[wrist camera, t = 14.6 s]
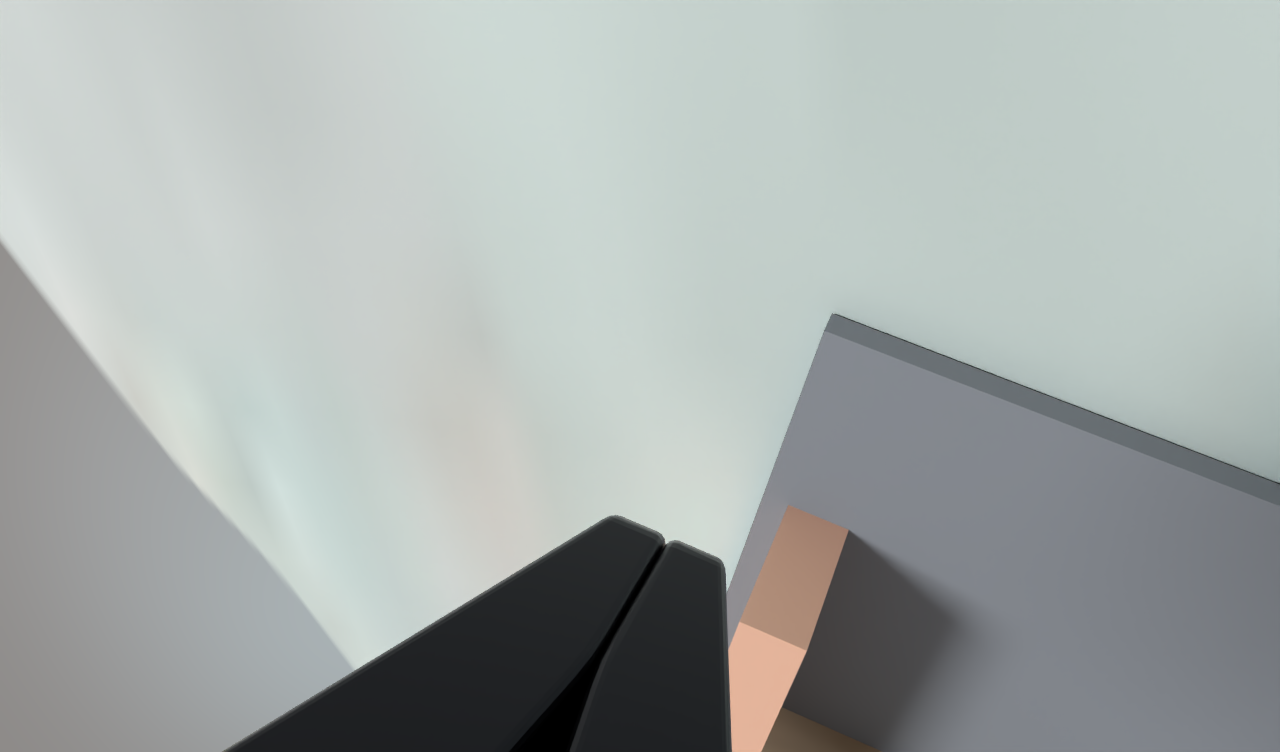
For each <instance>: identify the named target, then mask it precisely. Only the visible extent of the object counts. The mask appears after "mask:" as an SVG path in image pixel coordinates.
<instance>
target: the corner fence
mask: <svg viewBox="0 0 1280 752" xmlns="http://www.w3.org/2000/svg"><path fill="white" fill-rule="evenodd" d="M848 531H849V530H848V529H846V528H843V527H841V526H838V525H836V524H833V523H831V522H829V521H826V520H824V519H821V518H819V517H816V516H814V515H812V514H809V513H807V512H804V511H802V510H799V509H797V508H795V507H792V506H790V505H788V507H787V509H786V512H785V514H784V516H783V519H782V521H781V524H780V526H779V528H778V531H777V533H776V535H775V538H774V540H773V543H772V545H771V547H770V550H769V552H768V555H767V557H766V559H765V562H764V564H763V566H762V569H761V571H760V574H759V576H758V578H757V581H756V583H755V586H754V588H753V590H752V593H751V595H750V597H749V600H748V602H747V605H746V607H745V609H744V612H743V614H742V617H741V619H740V621H739V624H738V626H737V629H736V632H735V634H734V637H733V639H732V642H731V644H730V647H729V650H728V655H729V683H730V710H731V738H732V752H761V751H762V749H763V747H764V745H765V742H766V740H767V738H768V736H769V734H770V731H771V729H772V727H773V725H774V722H775V720H776V718H777V716H778V714H779V711H780V709H781V707H782V705H783V703H784V700H785V698H786V696H787V694H788V692H789V689H790V687H791V685H792V683H793V680H794V678H795V676H796V674H797V672H798V669H799V667H800V665H801V663H802V661H803V658H804V656H805V654H806V652H807V649H808V646H809V643H810V640H811V638H812V635H813V632H814V629H815V626H816V623H817V620H818V617H819V614H820V612H821V609H822V606H823V603H824V600H825V597H826V594H827V591H828V588H829V586H830V583H831V580H832V577H833V574H834V571H835V568H836V565H837V562H838V560H839V557H840V554H841V551H842V548H843V545H844V542H845V539H846V536H847V534H848Z"/></svg>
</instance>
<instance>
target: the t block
mask: <svg viewBox="0 0 1280 752" xmlns="http://www.w3.org/2000/svg"><path fill="white" fill-rule="evenodd" d="M761 752H882V751H880V750H877V749H875V748H873V747H871V746H868V745H866V744H864V743H862V742H859V741H857V740H855V739H852V738H850V737H848V736H846V735H843V734H841V733H839V732H837V731H834V730H832V729H830V728H828V727H825V726H823V725H821V724H819V723H816V722H814V721H812V720H810V719H807V718H805V717H803V716H801V715H798V714H796V713H794V712H792V711H789V710H787V709H785V708H782V707H781V709H780V711H779V714H778V716H777V718H776V720H775V722H774V725H773V727H772V729H771V731H770V734H769V736H768V738H767V740H766V742H765V745H764V747H763V749H762V751H761Z"/></svg>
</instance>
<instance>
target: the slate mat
mask: <svg viewBox="0 0 1280 752" xmlns="http://www.w3.org/2000/svg"><path fill="white" fill-rule="evenodd" d="M788 505H790V506H792V507H795V508H797V509H799V510H802V511H804V512H807V513H809V514H812V515H814V516H816V517H819V518H821V519H824V520H826V521H829V522H831V523H833V524H836V525H838V526H841V527H843V528H846V529H848V530H849V531H848V534H847V536H846V539H845V542H844V545H843V548H842V551H841V554H840V557H839V560H838V562H837V565H836V568H835V571H834V574H833V577H832V580H831V583H830V586H829V588H828V591H827V594H826V597H825V600H824V603H823V606H822V609H821V612H820V614H819V617H818V620H817V623H816V626H815V629H814V632H813V635H812V638H811V640H810V643H809V646H808V649H807V652H806V654H805V656H804V658H803V661H802V663H801V665H800V667H799V669H798V672H797V674H796V676H795V678H794V680H793V683H792V685H791V687H790V689H789V692H788V694H787V696H786V698H785V700H784V703H783V705H782V708H785V709H787V710H789V711H792V712H794V713H796V714H798V715H801V716H803V717H805V718H807V719H810V720H812V721H814V722H816V723H819V724H821V725H823V726H825V727H828V728H830V729H832V730H834V731H837V732H839V733H841V734H843V735H846V736H848V737H850V738H852V739H855V740H857V741H859V742H862V743H864V744H866V745H868V746H871V747H873V748H875V749H877V750H880V751H882V752H1280V484H1277V483H1275V482H1272V481H1269V480H1267V479H1264V478H1262V477H1259V476H1256V475H1254V474H1251V473H1248V472H1246V471H1243V470H1241V469H1238V468H1235V467H1233V466H1230V465H1228V464H1225V463H1222V462H1220V461H1217V460H1214V459H1212V458H1209V457H1207V456H1204V455H1201V454H1199V453H1196V452H1194V451H1191V450H1188V449H1186V448H1183V447H1180V446H1178V445H1175V444H1173V443H1170V442H1167V441H1165V440H1162V439H1160V438H1157V437H1154V436H1152V435H1149V434H1146V433H1144V432H1141V431H1139V430H1136V429H1133V428H1131V427H1128V426H1126V425H1123V424H1120V423H1118V422H1115V421H1112V420H1110V419H1107V418H1105V417H1102V416H1099V415H1097V414H1094V413H1092V412H1089V411H1086V410H1084V409H1081V408H1078V407H1076V406H1073V405H1071V404H1068V403H1065V402H1063V401H1060V400H1058V399H1055V398H1052V397H1050V396H1047V395H1044V394H1042V393H1039V392H1037V391H1034V390H1031V389H1029V388H1026V387H1024V386H1021V385H1018V384H1016V383H1013V382H1010V381H1008V380H1005V379H1003V378H1000V377H997V376H995V375H992V374H990V373H987V372H984V371H982V370H979V369H976V368H974V367H971V366H969V365H966V364H963V363H961V362H958V361H956V360H953V359H950V358H948V357H945V356H942V355H940V354H937V353H935V352H932V351H929V350H927V349H924V348H922V347H919V346H916V345H914V344H911V343H908V342H906V341H903V340H901V339H898V338H895V337H893V336H890V335H888V334H885V333H882V332H880V331H877V330H874V329H872V328H869V327H867V326H864V325H861V324H859V323H856V322H854V321H851V320H848V319H846V318H843V317H840V316H838V315H835V314H833V313H832V315H831V317H830V319H829V321H828V324H827V326H826V328H825V330H824V333H823V335H822V338H821V341H820V343H819V346H818V349H817V351H816V354H815V357H814V360H813V362H812V365H811V368H810V370H809V373H808V376H807V378H806V381H805V384H804V387H803V389H802V392H801V395H800V397H799V400H798V403H797V405H796V408H795V411H794V414H793V416H792V419H791V422H790V424H789V427H788V430H787V432H786V435H785V438H784V441H783V443H782V446H781V449H780V451H779V454H778V457H777V459H776V462H775V465H774V467H773V470H772V473H771V476H770V478H769V481H768V484H767V486H766V489H765V492H764V494H763V497H762V500H761V503H760V505H759V508H758V511H757V513H756V516H755V519H754V521H753V524H752V527H751V530H750V532H749V535H748V538H747V540H746V543H745V546H744V548H743V551H742V554H741V557H740V559H739V562H738V565H737V567H736V570H735V573H734V575H733V578H732V581H731V583H730V586H729V589H728V592H727V594H726V599H727V627H728V650H729V647H730V644H731V642H732V639H733V637H734V634H735V632H736V629H737V626H738V624H739V621H740V619H741V617H742V614H743V612H744V609H745V607H746V605H747V602H748V600H749V597H750V595H751V593H752V590H753V588H754V586H755V583H756V581H757V578H758V576H759V574H760V571H761V569H762V566H763V564H764V562H765V559H766V557H767V555H768V552H769V550H770V547H771V545H772V543H773V540H774V538H775V535H776V533H777V531H778V528H779V526H780V524H781V521H782V519H783V516H784V514H785V512H786V509H787V507H788Z"/></svg>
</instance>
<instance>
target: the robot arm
mask: <svg viewBox="0 0 1280 752" xmlns="http://www.w3.org/2000/svg"><path fill="white" fill-rule="evenodd" d="M223 752H732V738H731V710H730V683H729V655H728V627H727V599H726V573H725V567H724V564H723V562H722V561H721V560H720V559H719V558H718V557H715V556H713V555H711V554H708V553H706V552H704V551H701V550H699V549H697V548H694V547H692V546H690V545H687V544H685V543H683V542H680V541H677V540H674V541H670V542H669V543H667V544H666V545H665V539H664V537H663V536H662V534H660V533H659V532H657V531H655V530H652V529H650V528H647V527H645V526H643V525H640V524H638V523H636V522H633V521H631V520H629V519H626V518H624V517H622V516H618V515H614V516H609V517H606V518H605V519H603V520H601V521H599V522H598V523H596V524H594V525H593V526H591V527H590V528H588V529H586V530H585V531H583V532H581V533H580V534H578V535H576V536H575V537H573V538H572V539H570V540H568V541H567V542H565V543H563V544H562V545H560V546H558V547H557V548H555V549H553V550H552V551H550V552H549V553H547V554H545V555H544V556H542V557H540V558H539V559H537V560H535V561H534V562H532V563H531V564H529V565H527V566H526V567H524V568H522V569H521V570H519V571H517V572H516V573H514V574H513V575H511V576H509V577H508V578H506V579H504V580H503V581H501V582H499V583H498V584H496V585H494V586H493V587H491V588H490V589H488V590H486V591H485V592H483V593H481V594H480V595H478V596H476V597H475V598H473V599H472V600H470V601H468V602H467V603H465V604H463V605H462V606H460V607H458V608H457V609H455V610H454V611H452V612H450V613H449V614H447V615H445V616H444V617H442V618H440V619H439V620H437V621H435V622H434V623H432V624H431V625H429V626H427V627H426V628H424V629H422V630H421V631H419V632H417V633H416V634H414V635H413V636H411V637H409V638H408V639H406V640H404V641H403V642H401V643H399V644H398V645H396V646H395V647H393V648H391V649H390V650H388V651H386V652H385V653H383V654H381V655H380V656H378V657H376V658H375V659H373V660H372V661H370V662H368V663H367V664H365V665H363V666H362V667H360V668H358V669H357V670H355V671H354V672H352V673H350V674H349V675H347V676H345V677H344V678H342V679H341V680H339V681H337V682H336V683H334V684H332V685H331V686H329V687H327V688H326V689H324V690H322V691H321V692H319V693H318V694H316V695H314V696H313V697H311V698H309V699H308V700H306V701H304V702H303V703H301V704H299V705H298V706H296V707H295V708H293V709H291V710H290V711H288V712H286V713H285V714H283V715H282V716H280V717H278V718H277V719H275V720H273V721H272V722H270V723H268V724H267V725H265V726H264V727H262V728H260V729H259V730H257V731H255V732H254V733H252V734H250V735H249V736H247V737H245V738H244V739H242V740H241V741H239V742H237V743H236V744H234V745H232V746H231V747H229V748H227V749H226V750H224V751H223Z"/></svg>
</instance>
